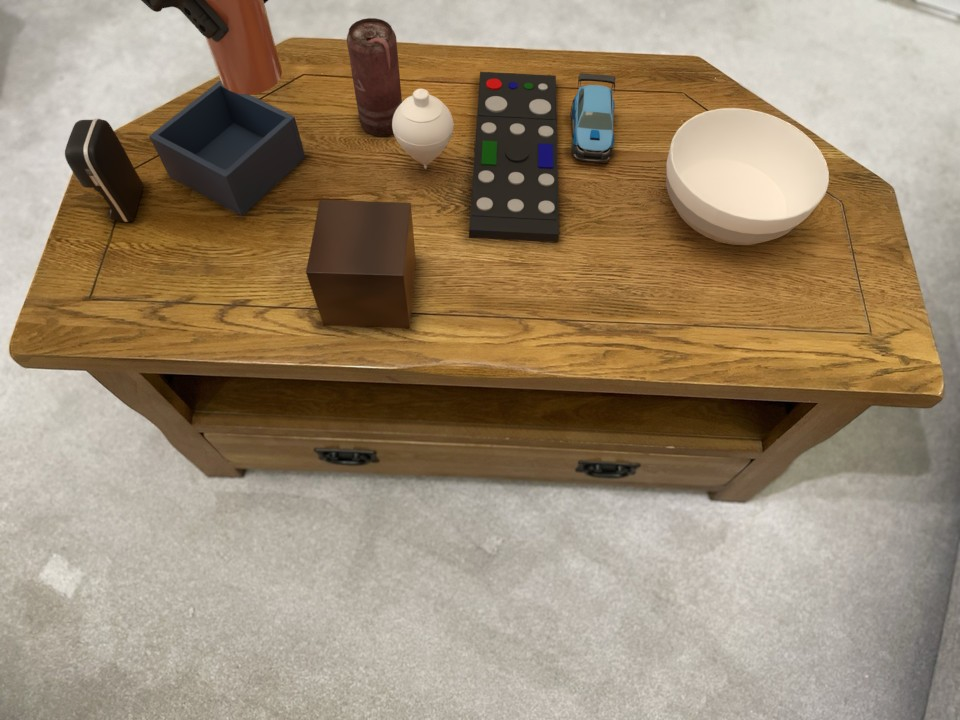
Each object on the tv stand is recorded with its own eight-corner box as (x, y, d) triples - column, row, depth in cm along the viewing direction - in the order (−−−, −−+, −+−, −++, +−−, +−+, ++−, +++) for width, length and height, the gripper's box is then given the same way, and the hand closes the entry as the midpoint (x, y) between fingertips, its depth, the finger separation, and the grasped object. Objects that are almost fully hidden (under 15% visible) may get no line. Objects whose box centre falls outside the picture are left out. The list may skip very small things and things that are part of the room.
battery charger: (115, 184, 87) (71, 112, 77) (145, 183, 87) (105, 111, 77) (103, 225, 83) (55, 155, 73) (134, 224, 83) (90, 154, 73)
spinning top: (386, 161, 90) (377, 85, 79) (435, 140, 92) (432, 64, 82) (414, 197, 87) (408, 123, 76) (464, 175, 89) (465, 100, 78)
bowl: (817, 197, 89) (850, 146, 81) (766, 292, 80) (797, 246, 73) (687, 140, 93) (707, 88, 86) (627, 225, 85) (643, 175, 78)
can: (385, 144, 91) (374, 53, 79) (351, 124, 93) (335, 32, 81) (413, 121, 94) (407, 29, 82) (380, 102, 96) (368, 9, 84)
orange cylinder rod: (278, 95, 65) (237, -55, 53) (215, 94, 64) (160, -55, 52) (285, 55, 68) (247, -94, 56) (225, 55, 67) (174, -95, 55)
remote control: (554, 84, 99) (556, 72, 97) (557, 242, 84) (559, 231, 82) (479, 80, 99) (480, 68, 97) (469, 237, 84) (469, 226, 82)
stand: (323, 325, 76) (305, 272, 68) (334, 257, 81) (319, 199, 73) (409, 328, 77) (403, 275, 68) (415, 259, 82) (410, 202, 73)
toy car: (568, 165, 90) (575, 132, 85) (570, 106, 96) (576, 71, 91) (611, 168, 90) (620, 135, 85) (610, 109, 96) (618, 75, 91)
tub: (242, 216, 84) (225, 177, 78) (169, 176, 87) (148, 136, 82) (305, 157, 90) (294, 116, 84) (235, 122, 93) (219, 80, 87)
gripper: (18, -168, 46) (209, 42, 54) (160, -240, 53) (312, -43, 60) (7, -105, 52) (181, 77, 60) (136, -176, 58) (278, -4, 66)
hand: (246, 16), depth 60 cm, fingers closed on orange cylinder rod, 6 cm apart
